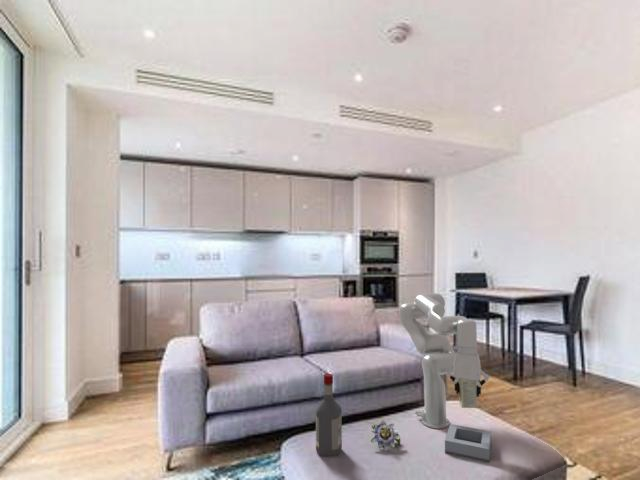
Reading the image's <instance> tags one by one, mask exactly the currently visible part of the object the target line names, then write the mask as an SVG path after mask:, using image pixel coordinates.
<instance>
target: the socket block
mask: <svg viewBox="0 0 640 480" xmlns="http://www.w3.org/2000/svg"><path fill="white" fill-rule="evenodd" d="M491 449H492V432H491V430H487V429H486V430H485V429H481V428H474V427H469V426H463V425H460V424H452V423H450V425H449V426H448V430H447V432H446V436H445V439H444V454H447V455H452V456H457V457H462V458H466V459H469V460H475V461H479V462H485V463H489V464H490V461H491V460H490V459H491V451H492V450H491ZM490 450H491V451H490Z"/></svg>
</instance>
